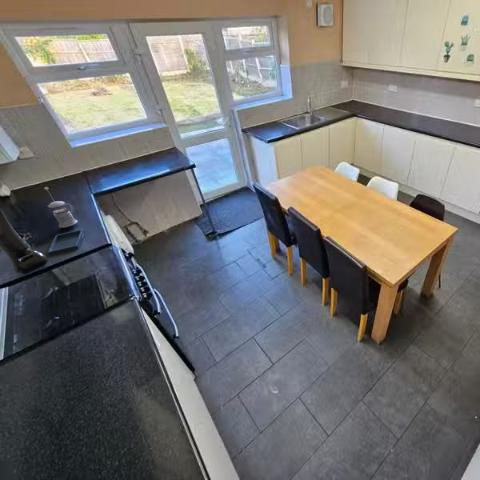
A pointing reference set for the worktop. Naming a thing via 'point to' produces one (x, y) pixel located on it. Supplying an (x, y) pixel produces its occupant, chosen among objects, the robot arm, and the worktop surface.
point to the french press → (65, 221)
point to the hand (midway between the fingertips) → (7, 236)
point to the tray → (66, 241)
